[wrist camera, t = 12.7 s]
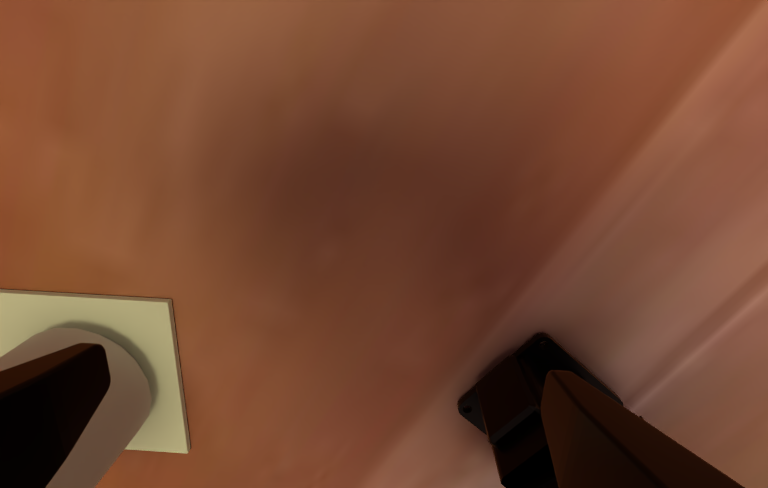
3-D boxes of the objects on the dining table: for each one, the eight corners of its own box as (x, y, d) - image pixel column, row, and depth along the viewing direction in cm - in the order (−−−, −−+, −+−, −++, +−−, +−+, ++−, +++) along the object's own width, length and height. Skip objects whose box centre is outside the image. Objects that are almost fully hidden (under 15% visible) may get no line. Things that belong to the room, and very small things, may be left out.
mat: (171, 299, 23) (167, 302, 23) (190, 448, 26) (187, 453, 26) (-14, 288, 23) (-21, 291, 23) (28, 437, 27) (23, 442, 26)
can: (139, 450, 26) (-61, 724, 15) (15, 400, 25) (-299, 652, 14) (177, 354, 24) (-27, 593, 12) (41, 296, 23) (-310, 496, 12)
